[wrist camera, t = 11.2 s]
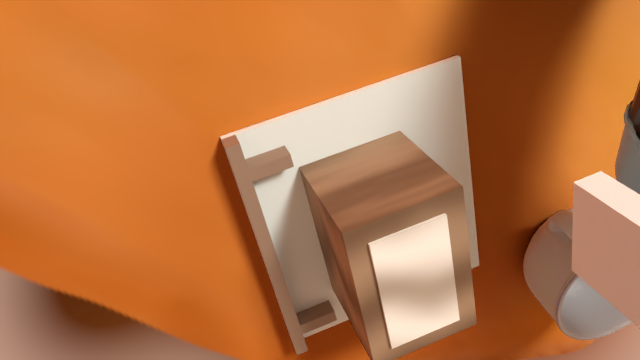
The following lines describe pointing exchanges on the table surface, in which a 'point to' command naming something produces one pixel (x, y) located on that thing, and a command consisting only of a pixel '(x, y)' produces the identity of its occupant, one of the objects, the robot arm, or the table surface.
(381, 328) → the wooden box
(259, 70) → the table surface
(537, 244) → the teacup
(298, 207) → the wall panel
